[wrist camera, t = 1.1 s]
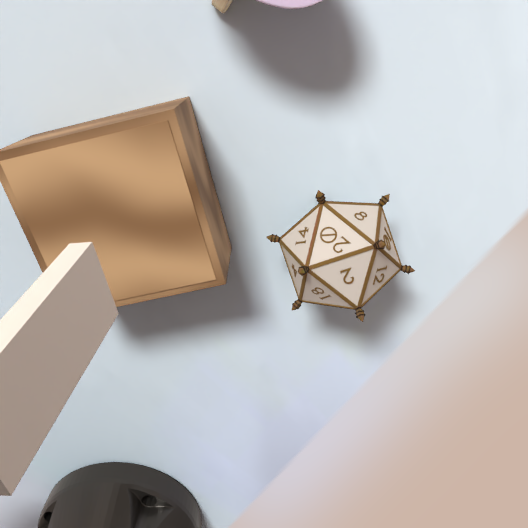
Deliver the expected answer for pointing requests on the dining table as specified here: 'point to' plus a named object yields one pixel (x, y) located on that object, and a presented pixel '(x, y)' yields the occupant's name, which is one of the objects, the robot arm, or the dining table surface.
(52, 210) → the pedestal
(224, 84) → the dining table surface
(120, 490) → the robot arm
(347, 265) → the game die
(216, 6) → the toy table
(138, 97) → the dining table surface
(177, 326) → the dining table surface
